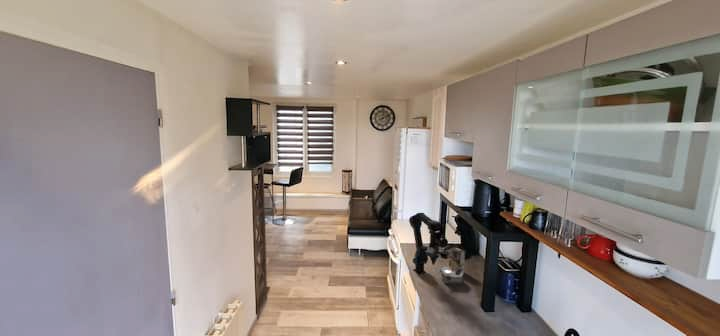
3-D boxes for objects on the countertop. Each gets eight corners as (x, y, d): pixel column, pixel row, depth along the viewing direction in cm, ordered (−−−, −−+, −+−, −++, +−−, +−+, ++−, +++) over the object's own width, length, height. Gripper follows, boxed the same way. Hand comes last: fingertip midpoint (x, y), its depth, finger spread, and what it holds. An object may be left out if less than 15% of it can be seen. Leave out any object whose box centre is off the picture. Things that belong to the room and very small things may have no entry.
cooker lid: (438, 273, 190) (438, 270, 190) (445, 265, 201) (445, 262, 201) (459, 279, 182) (459, 276, 182) (465, 271, 193) (465, 268, 193)
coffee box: (464, 272, 205) (466, 250, 203) (459, 275, 201) (461, 253, 198) (453, 267, 212) (454, 246, 210) (448, 270, 208) (449, 248, 205)
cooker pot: (436, 283, 190) (436, 274, 189) (445, 272, 204) (445, 264, 203) (457, 290, 182) (458, 281, 181) (465, 278, 196) (466, 270, 195)
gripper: (415, 242, 185) (414, 265, 187) (444, 249, 174) (443, 273, 176) (422, 236, 194) (422, 259, 196) (450, 243, 183) (449, 266, 185)
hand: (433, 264), depth 188 cm, fingers closed
